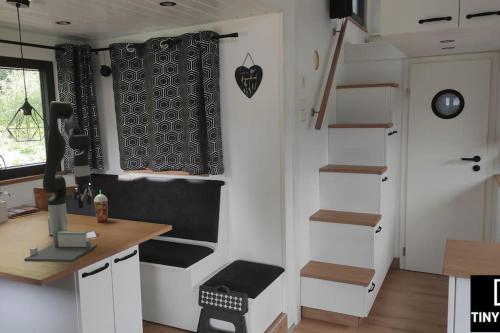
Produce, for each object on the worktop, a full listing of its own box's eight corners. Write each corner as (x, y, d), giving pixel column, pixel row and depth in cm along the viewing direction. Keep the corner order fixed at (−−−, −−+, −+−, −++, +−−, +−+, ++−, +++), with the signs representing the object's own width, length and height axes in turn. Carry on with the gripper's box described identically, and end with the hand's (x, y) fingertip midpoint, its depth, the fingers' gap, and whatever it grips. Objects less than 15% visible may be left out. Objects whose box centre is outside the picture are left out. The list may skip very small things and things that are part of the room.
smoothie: (97, 219, 278) (95, 189, 275) (110, 219, 278) (108, 188, 276) (93, 223, 269) (91, 191, 267) (107, 222, 270) (105, 190, 268)
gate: (58, 246, 217) (57, 232, 216) (60, 245, 219) (59, 231, 218) (85, 246, 215) (84, 232, 214) (87, 245, 217) (86, 231, 216)
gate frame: (23, 260, 202) (21, 240, 200) (52, 245, 224) (50, 227, 223) (72, 261, 198) (70, 241, 197) (97, 246, 221) (95, 228, 219)
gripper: (82, 172, 226) (85, 203, 228) (67, 176, 212) (70, 209, 214) (96, 172, 225) (99, 203, 227) (82, 176, 211) (85, 209, 213)
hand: (85, 206), depth 220 cm, fingers open, 8 cm apart
